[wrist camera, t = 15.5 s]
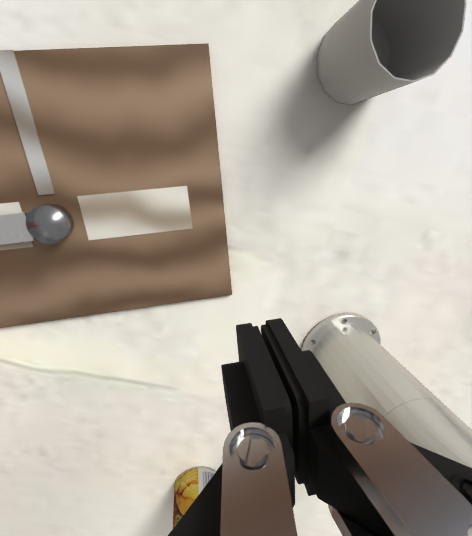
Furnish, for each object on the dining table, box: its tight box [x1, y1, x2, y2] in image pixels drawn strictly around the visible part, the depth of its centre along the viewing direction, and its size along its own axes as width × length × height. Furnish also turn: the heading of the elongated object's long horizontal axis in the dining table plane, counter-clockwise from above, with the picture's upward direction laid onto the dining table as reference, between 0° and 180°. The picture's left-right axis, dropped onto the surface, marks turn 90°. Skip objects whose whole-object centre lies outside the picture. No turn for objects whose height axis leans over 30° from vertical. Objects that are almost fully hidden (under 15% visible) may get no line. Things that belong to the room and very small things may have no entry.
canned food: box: [173, 467, 216, 528], centre depth 45 cm, size 8×8×12 cm
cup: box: [317, 0, 466, 104], centre depth 28 cm, size 8×8×10 cm
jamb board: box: [0, 44, 232, 328], centre depth 31 cm, size 28×38×3 cm
